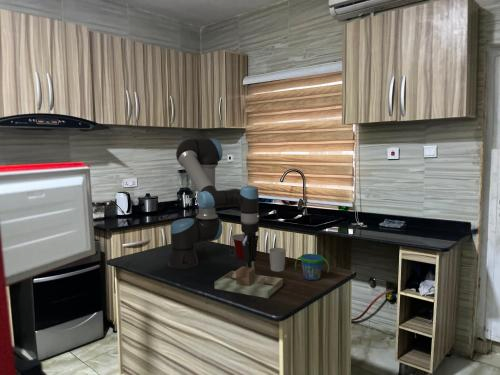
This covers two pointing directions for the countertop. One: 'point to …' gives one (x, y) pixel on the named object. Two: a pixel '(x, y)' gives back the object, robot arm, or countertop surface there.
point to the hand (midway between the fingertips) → (250, 275)
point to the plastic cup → (238, 245)
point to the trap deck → (254, 289)
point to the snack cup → (311, 265)
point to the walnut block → (245, 276)
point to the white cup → (277, 259)
